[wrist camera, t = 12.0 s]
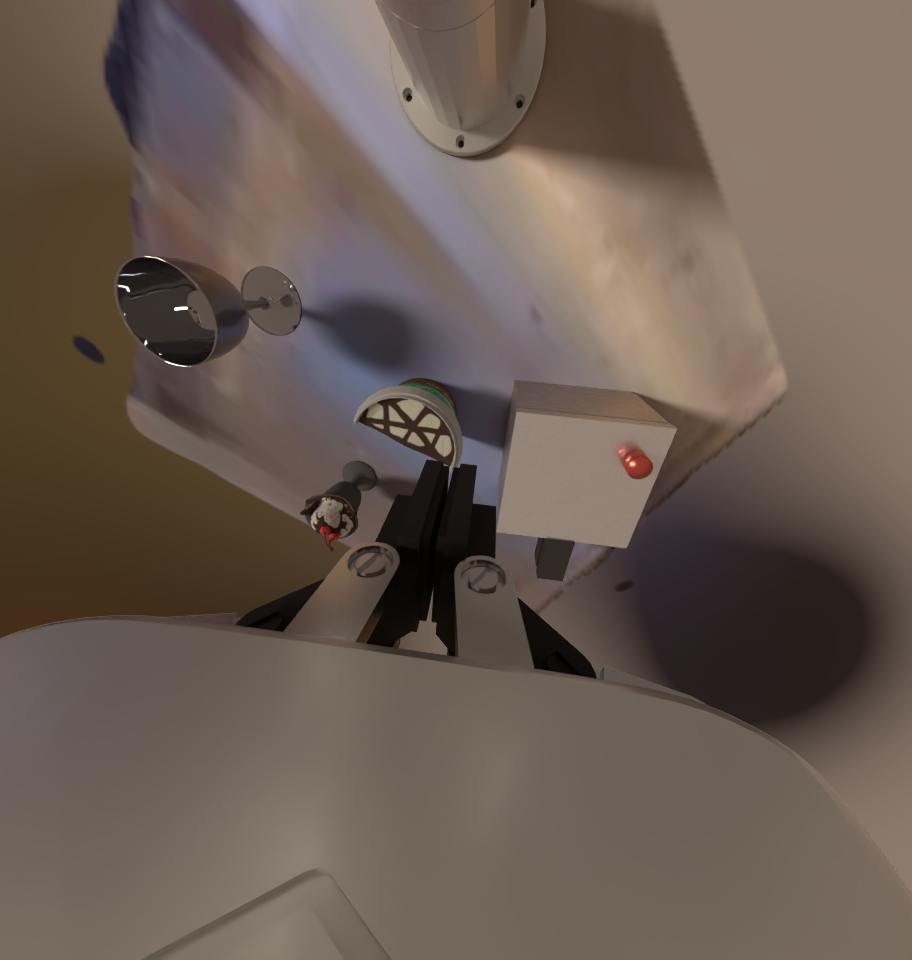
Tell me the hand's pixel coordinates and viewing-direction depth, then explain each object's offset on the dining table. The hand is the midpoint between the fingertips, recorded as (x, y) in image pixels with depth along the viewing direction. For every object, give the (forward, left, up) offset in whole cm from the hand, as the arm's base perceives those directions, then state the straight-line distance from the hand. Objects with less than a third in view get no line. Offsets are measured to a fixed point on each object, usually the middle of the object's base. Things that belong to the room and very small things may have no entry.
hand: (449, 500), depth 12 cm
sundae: (+20, -16, -33) cm, 42 cm away
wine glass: (-2, -25, -33) cm, 42 cm away
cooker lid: (+14, +11, -23) cm, 29 cm away
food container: (+7, -6, -33) cm, 35 cm away
